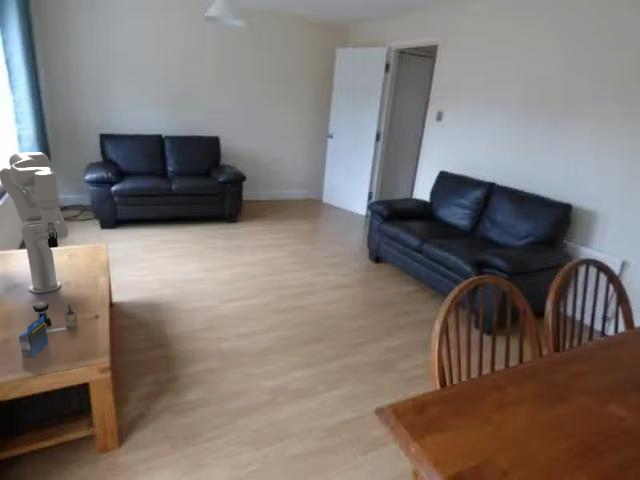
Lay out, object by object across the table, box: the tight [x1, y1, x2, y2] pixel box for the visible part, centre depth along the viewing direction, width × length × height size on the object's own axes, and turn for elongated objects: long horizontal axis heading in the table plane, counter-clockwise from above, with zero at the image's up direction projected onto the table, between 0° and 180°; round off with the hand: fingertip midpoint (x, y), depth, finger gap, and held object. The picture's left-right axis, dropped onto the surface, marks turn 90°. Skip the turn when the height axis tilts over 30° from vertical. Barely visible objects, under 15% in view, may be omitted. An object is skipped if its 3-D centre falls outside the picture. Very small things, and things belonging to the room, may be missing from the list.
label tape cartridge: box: [18, 315, 49, 358], centre depth 150 cm, size 9×4×12 cm, turn 178°
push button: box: [32, 301, 52, 328], centre depth 164 cm, size 7×5×10 cm
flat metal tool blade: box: [46, 326, 79, 334], centre depth 165 cm, size 2×13×1 cm, turn 122°
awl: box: [64, 303, 79, 330], centre depth 165 cm, size 4×4×10 cm
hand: (53, 242), depth 171 cm, fingers open, 9 cm apart
